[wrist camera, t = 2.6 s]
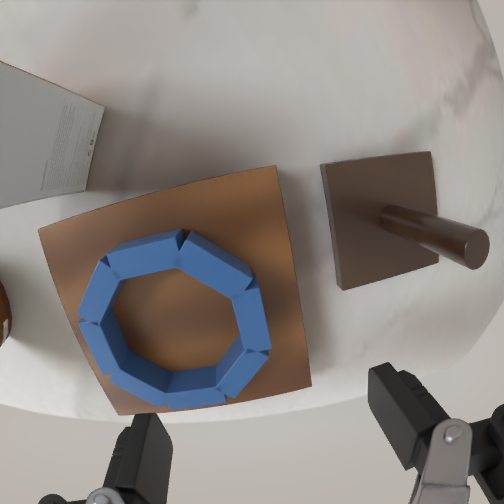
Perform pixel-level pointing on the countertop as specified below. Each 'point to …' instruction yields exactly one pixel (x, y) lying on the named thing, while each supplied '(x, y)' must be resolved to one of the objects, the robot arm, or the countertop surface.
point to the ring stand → (392, 220)
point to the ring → (206, 271)
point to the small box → (43, 138)
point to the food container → (4, 316)
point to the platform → (189, 281)
